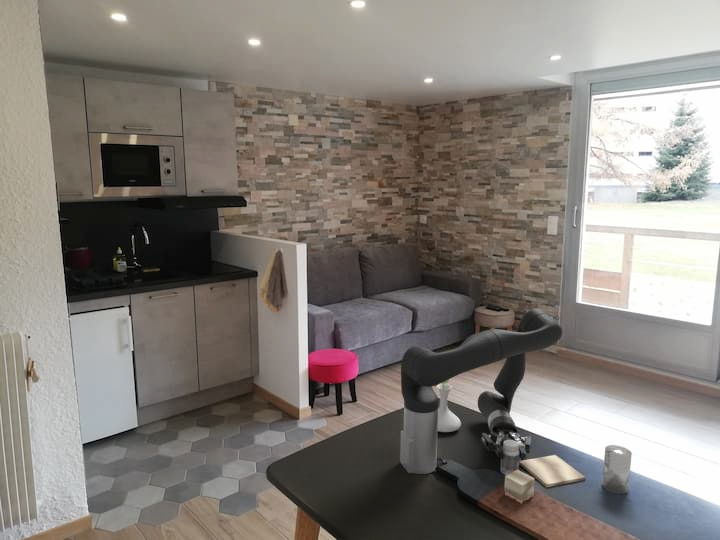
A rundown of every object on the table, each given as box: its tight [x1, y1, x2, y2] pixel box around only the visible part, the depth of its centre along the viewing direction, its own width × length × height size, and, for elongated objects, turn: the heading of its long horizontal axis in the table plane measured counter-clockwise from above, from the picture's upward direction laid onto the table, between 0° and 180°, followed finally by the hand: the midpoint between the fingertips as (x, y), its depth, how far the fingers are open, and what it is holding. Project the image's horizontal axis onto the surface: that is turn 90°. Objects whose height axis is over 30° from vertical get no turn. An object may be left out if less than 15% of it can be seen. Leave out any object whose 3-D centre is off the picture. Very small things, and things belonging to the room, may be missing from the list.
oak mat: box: [519, 454, 586, 488], centre depth 138 cm, size 12×12×1 cm
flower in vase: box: [434, 379, 462, 433], centre depth 161 cm, size 13×11×25 cm
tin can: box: [601, 444, 632, 495], centre depth 130 cm, size 6×6×10 cm
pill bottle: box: [500, 440, 520, 476], centre depth 137 cm, size 5×5×8 cm
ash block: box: [503, 469, 536, 501], centre depth 127 cm, size 5×5×5 cm
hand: (512, 456), depth 134 cm, fingers closed on pill bottle, 4 cm apart
